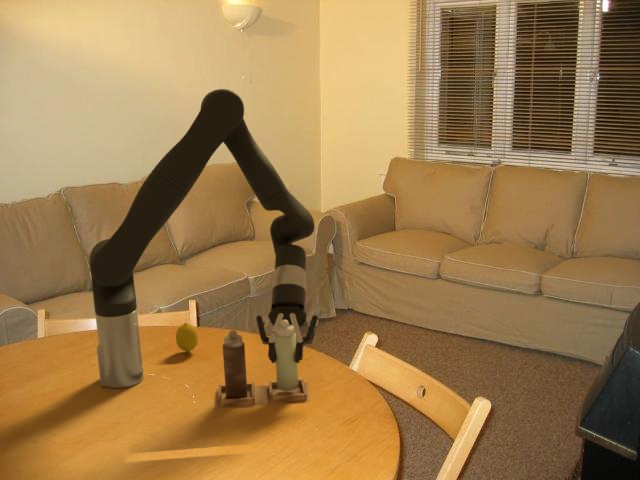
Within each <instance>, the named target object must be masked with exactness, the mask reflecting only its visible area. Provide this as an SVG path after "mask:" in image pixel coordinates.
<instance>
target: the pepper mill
mask: <svg viewBox="0 0 640 480" xmlns="http://www.w3.org/2000/svg"><path fill="white" fill-rule="evenodd" d="M223 342H224V343H223V344H222V355H223V369H224V370H223V371H224V382H225V383H224V385H225V388H226V399H237V398H247V383H248V382H247V381H248V380H247V366H246V363H247V362H246V350H245V348H246V346H245V343H244V341H243V336H242V335H241V334H238V332H237V331H236V330H235V329H231V330H229V332H228V335H226V336H225V337H224V338H223Z"/></svg>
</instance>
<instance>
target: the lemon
mask: <svg viewBox="0 0 640 480" xmlns="http://www.w3.org/2000/svg"><path fill="white" fill-rule="evenodd" d="M197 330H198V329H197V328H196V327H195V326H194V325H193V324H191V323H188V322H184V324H181V325H180V326H178V328H177V330H176V332H175V341H176V345H177V348H179V349H180V350H182V351H184V352H186V353H191V351H193V350H194V349H195V348H196V347H197V345H198V342H199V334H198V331H197Z"/></svg>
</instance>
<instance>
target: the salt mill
mask: <svg viewBox="0 0 640 480" xmlns="http://www.w3.org/2000/svg"><path fill="white" fill-rule="evenodd" d="M274 338H275V356H276V362H275V369H276V370H275V372H276V381H277V388H278V389H279V390H283V391H291V390H294V389H296V388H297V387H298V379H299V376H298V375H299V370H298V363H296V361H295V355H296V344H297V339H296V333H295V332H294V326H293V325H290V324H289V322H288V321H287V320H282V321H281V323H280V325H278V326H277V327H276V333H275V334H274Z"/></svg>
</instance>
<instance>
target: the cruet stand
mask: <svg viewBox="0 0 640 480" xmlns="http://www.w3.org/2000/svg"><path fill="white" fill-rule="evenodd" d="M299 402H300V403H302V402H304V403H305V402H311V399H310V393H309V388H308V383H307V382H305V379H304V378H298V387H297V388H296V389H294V390H291V391H283V390H279V389H278V388H277V380H271V381H270V380H269V381H268V385H267V384H266V385H255V382H247V398H237V399H226V388H225V384H219V385H218V388H216V393H215V404H214V405H215V407H214V409H223V408H225V409H226V408H234V407H235V408H237V407H248V406H249V407H250V406H261V405H262V406H263V405H264V406H265V405H274V404H287V403H288V404H289V403H299Z"/></svg>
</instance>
